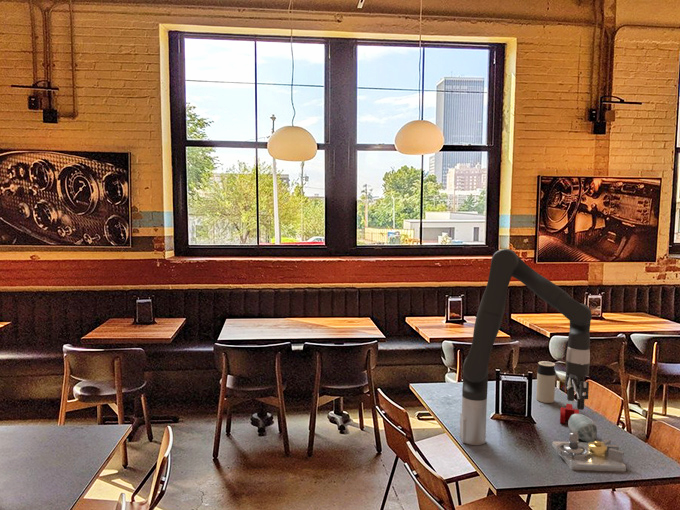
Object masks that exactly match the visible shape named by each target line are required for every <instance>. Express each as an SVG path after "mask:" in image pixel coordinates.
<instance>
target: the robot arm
mask: <svg viewBox="0 0 680 510" xmlns="http://www.w3.org/2000/svg"><path fill="white" fill-rule="evenodd" d="M512 277H513V278H514V279H516V280H517V281H519V282H521V283H522V284H523V285H525V287H527V288H528V289H529V290H530V291H531V292H532V293H534V294H535V295H536V296H538V298H540V299H541V300H542V301H544V302H545V303H547V304H548V305H550V306H551V307H552V308H554V309H555V310H557V311H558V312H560V314H562V315H563V316H564V317H565V318H566V319H568V321H569V331H568V332H569V333H568V338H567V339H568V340H567V348H566V349H567V350H566V356H565V357H566V359H565V360H566V361H565V379H564V387H566V390H567V392H566V393H567V394H566V395H567V397H566V398H567V400H568V402H574V401H575V394H576V397H577V400H576V409H577V410H579V411H580V410H581V411H584V409H585V401H586V400H588V399H589V384H590V383H589V381H585V377H586V376H589V374H590V363H591V362H590V361H591V353H590V349H591V347H590V346H591V333H590V331H591V329H590V328H591V322H592V318H593V314H592V310H591V308H590V307H589V306H588V305H587V304H585V303H582V302H581V303H580V302H578V301H577V300H576V299H574V298H573V297H572V296H571V295H570V294H569V293H567V292H566V291H565V290H564V289H562V288H561V287H560V286H558V285H557V284H555V283H553V282H552V281H551V280H549V279H547V278H546V277H545V276H543V275H541V274H540V273H538V272H537V271H536V270H534V269H533V268H532V267H530V266H529V265H528V264H527V263H526V262H525V261H524V260H523V259H522V258H520V256H518V254H517V253H516V252H515V251H514V250H512V249H510V248H503V249H502V248H501V249H499V250H497V251H495V252H494V253H493V255H492V256H491V261H490V269H489V273H488V280H487V283H486V287H485V289H484V292H483V294H482V296H481V300H480V303H479V307H478V310H477V313H476V317H475V323H474V328H473V333H472V341H471V346H470V349H469V352H468V354H467V356H466V357H465V359H464V361H463V364H462V365H463V366H462V372H463V374H462V375H463V376H462V388H461V389H462V392H461V393H462V394H461V412H460V416H459V417H460V418H459V424H460V425H459V438H460V440H461V443H462V444H466V445H471V446H482V445H484V444H486V441H487V439H486V438H487V411H488V410H487V407H488V406H487V405H488V404H487V403H488V388H489V387H488V385H489V383H488V382H489V364H490V358H491V352H492V349H493V346H494V344H495V342H496V339H497V336H498V333H499V331H500V329H501V326H502V322H503V318H504V315H505V310H506V303H507V294H508V287H509V284H510V282H511V279H512Z"/></svg>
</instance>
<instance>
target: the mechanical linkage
mask: <svg viewBox="0 0 680 510" xmlns="http://www.w3.org/2000/svg"><path fill="white" fill-rule="evenodd" d="M559 413H560V414H559V424H560V425H561V424H562V425H565V423H566V421H569V418H570V417H571V415H573V414H580V410H579V409H577V408H573V404H572V403H566V406H565V407H564V406H562V407H560V412H559Z"/></svg>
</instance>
